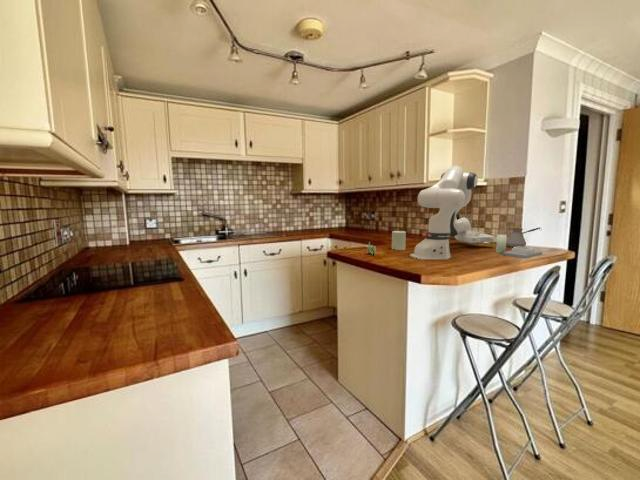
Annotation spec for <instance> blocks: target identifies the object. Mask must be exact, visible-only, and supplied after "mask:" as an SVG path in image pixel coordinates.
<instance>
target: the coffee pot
mask: <svg viewBox="0 0 640 480" xmlns="http://www.w3.org/2000/svg"><path fill="white" fill-rule="evenodd" d="M537 230H539V231H540V232H541V231H543V230H542V228H541V227H536V228H533V229H529V230H526V231H524V229H523V228H521V227H520V228H519V227H512V233H511V234H510V236H509V238H507V240H506V246H508V247H509V246H510V247H509V248H512V247H518V246H520V247H526V245H527V242H526V239H525V236H524V234H526V233H530V232H534V231H537ZM523 231H524V232H523Z"/></svg>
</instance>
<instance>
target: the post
mask: <svg viewBox="0 0 640 480" xmlns="http://www.w3.org/2000/svg"><path fill="white" fill-rule="evenodd" d="M507 236H508V235H507V234H497V236H496V245H495V247H496V248H495V249H496V250H495V252H496V253H497V254H503V252H507V251H506V250H507V240H508V237H507Z"/></svg>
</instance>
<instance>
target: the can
mask: <svg viewBox="0 0 640 480" xmlns="http://www.w3.org/2000/svg"><path fill="white" fill-rule="evenodd" d="M406 236H407V232H406V231H403V230H393V231H391V250H394V249H395V250H396V251H405V250H406V241H407V240H406V239H407V237H406Z"/></svg>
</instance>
